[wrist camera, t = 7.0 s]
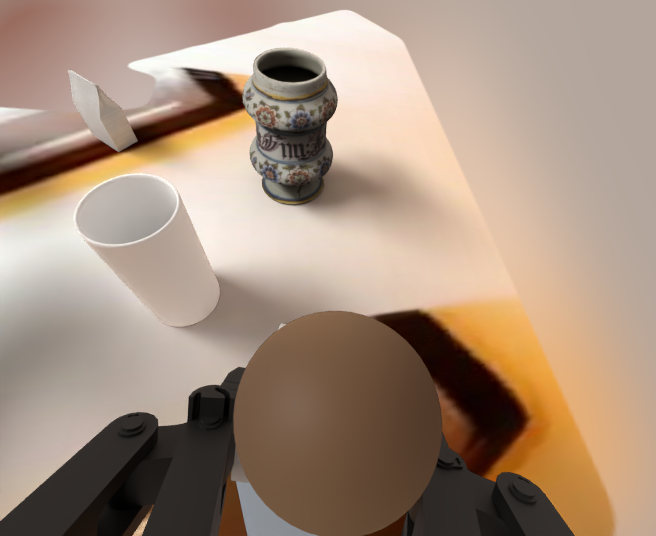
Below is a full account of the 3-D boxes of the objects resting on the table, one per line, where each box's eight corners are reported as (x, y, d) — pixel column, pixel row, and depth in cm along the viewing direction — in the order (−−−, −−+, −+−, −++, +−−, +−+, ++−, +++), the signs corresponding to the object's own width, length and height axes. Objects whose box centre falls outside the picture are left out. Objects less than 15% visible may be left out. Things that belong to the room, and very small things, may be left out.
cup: (229, 309, 40) (192, 224, 27) (160, 338, 37) (80, 261, 24) (208, 259, 44) (166, 162, 30) (144, 283, 41) (66, 189, 28)
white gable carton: (118, 152, 54) (84, 92, 45) (93, 135, 56) (56, 74, 47) (137, 141, 56) (108, 81, 47) (112, 125, 57) (79, 65, 49)
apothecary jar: (343, 176, 54) (359, 59, 39) (304, 222, 48) (304, 106, 33) (283, 148, 57) (276, 30, 42) (239, 189, 51) (212, 68, 36)
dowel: (271, 430, 19) (215, 344, 7) (334, 405, 20) (385, 290, 8) (292, 507, 17) (264, 590, 5) (359, 476, 18) (483, 476, 6)
